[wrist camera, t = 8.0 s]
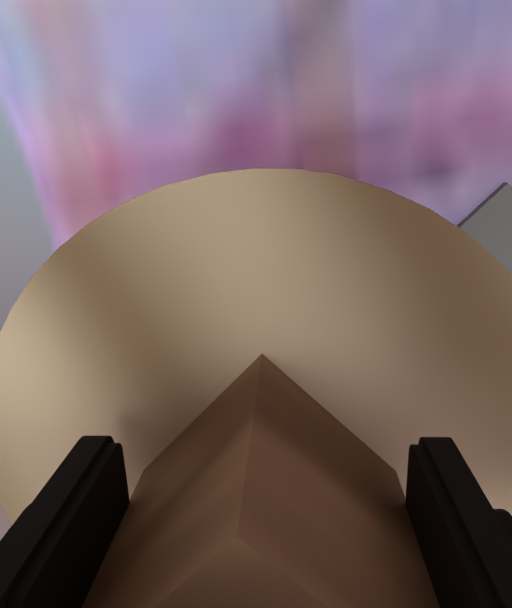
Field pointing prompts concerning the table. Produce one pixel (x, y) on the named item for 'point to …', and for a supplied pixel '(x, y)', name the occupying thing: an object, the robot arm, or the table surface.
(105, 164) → the table surface
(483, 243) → the mat
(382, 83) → the table surface
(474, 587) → the robot arm
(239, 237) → the lid
